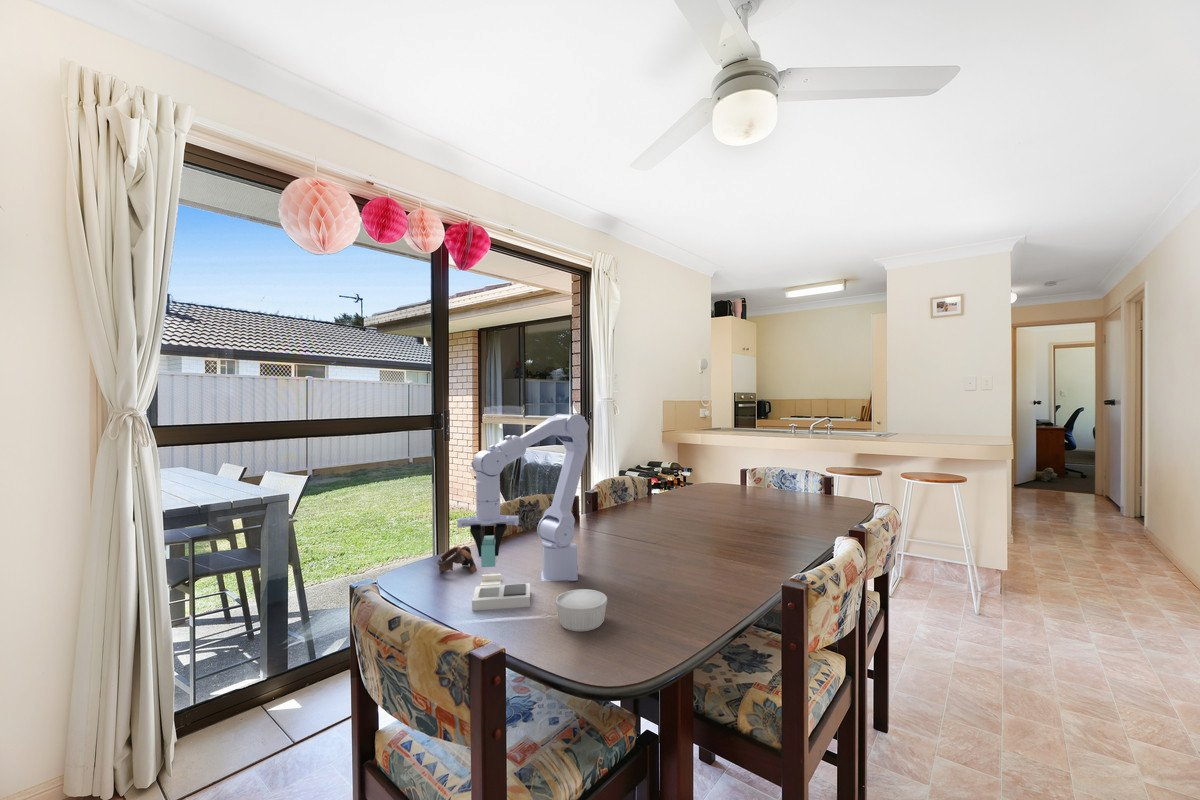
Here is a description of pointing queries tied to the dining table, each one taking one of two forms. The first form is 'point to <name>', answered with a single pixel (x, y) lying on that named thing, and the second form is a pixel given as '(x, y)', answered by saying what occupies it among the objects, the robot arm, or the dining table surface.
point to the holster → (491, 579)
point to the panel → (501, 596)
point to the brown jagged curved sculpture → (457, 559)
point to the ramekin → (581, 609)
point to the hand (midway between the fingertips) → (488, 555)
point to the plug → (488, 552)
